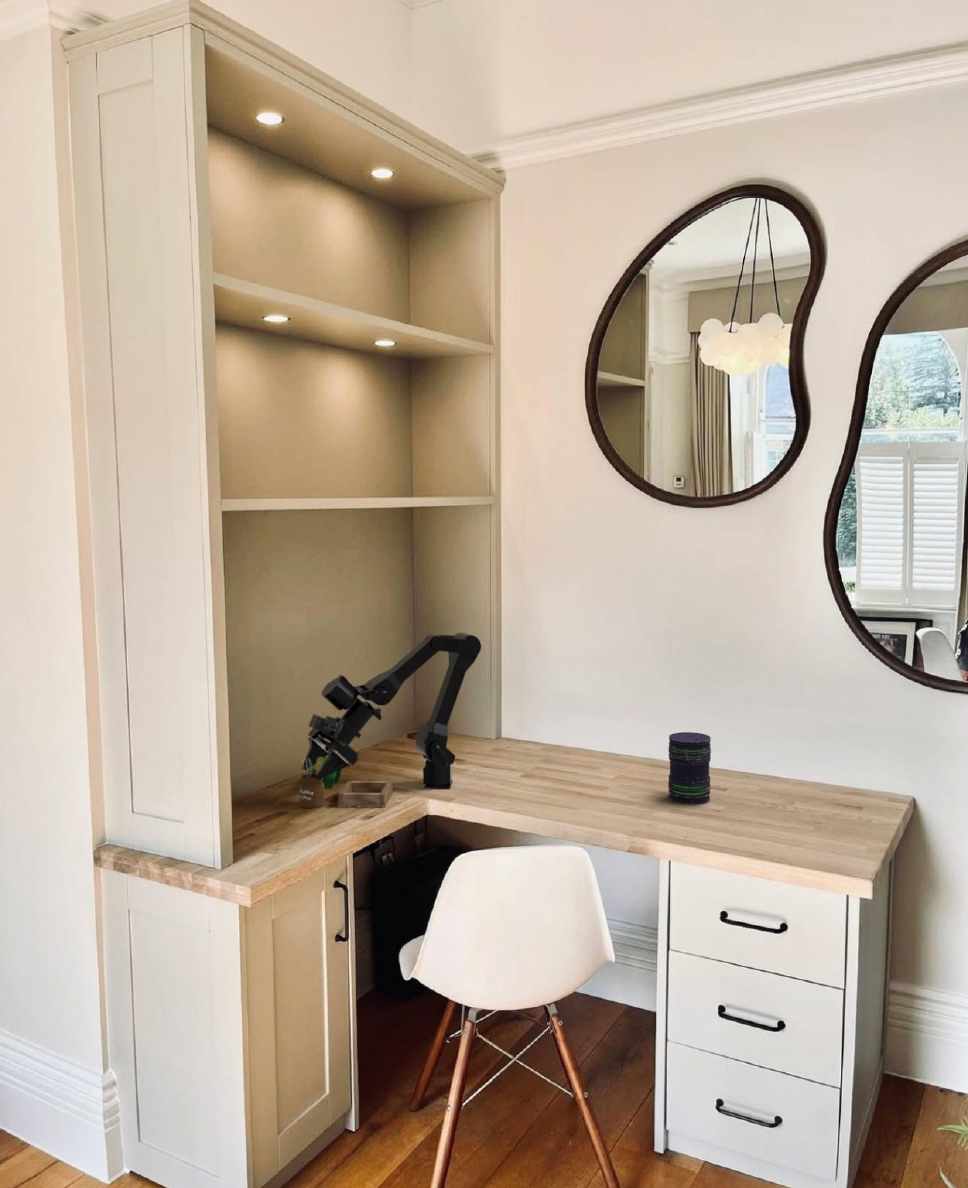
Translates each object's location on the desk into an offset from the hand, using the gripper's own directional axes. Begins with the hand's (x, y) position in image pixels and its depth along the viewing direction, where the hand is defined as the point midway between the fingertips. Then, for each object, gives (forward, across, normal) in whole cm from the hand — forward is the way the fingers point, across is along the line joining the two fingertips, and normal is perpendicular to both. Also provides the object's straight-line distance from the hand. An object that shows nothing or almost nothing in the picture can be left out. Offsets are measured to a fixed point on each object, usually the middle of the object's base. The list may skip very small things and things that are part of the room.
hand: (309, 774), depth 236 cm
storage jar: (-50, +44, +60) cm, 90 cm away
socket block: (-4, +4, +14) cm, 15 cm away
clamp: (-1, -14, +12) cm, 19 cm away
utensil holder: (+5, 0, +6) cm, 8 cm away
